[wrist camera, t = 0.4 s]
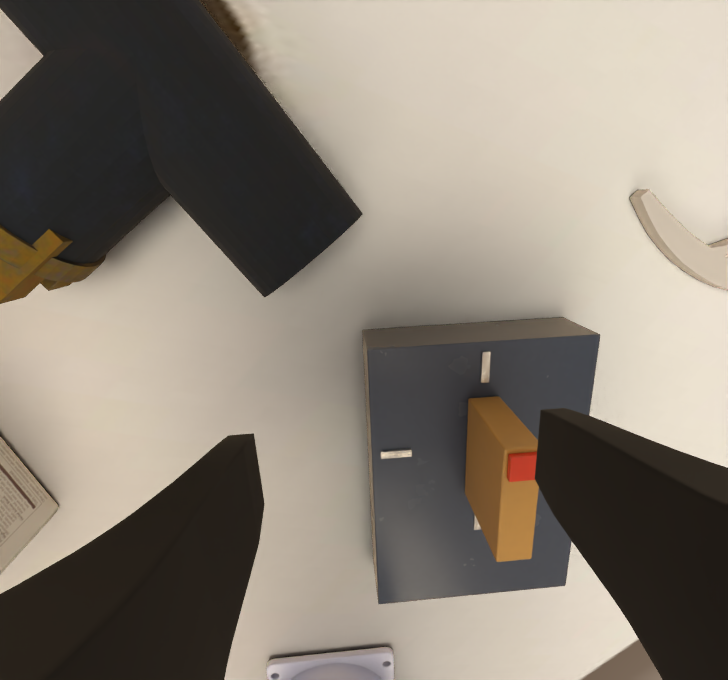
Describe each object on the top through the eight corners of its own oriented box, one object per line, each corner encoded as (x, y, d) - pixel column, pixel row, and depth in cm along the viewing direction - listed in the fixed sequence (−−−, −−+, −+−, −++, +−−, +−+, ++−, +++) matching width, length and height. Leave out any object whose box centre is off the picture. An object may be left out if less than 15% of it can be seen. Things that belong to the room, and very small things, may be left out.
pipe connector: (117, 424, 15) (-353, 26, 10) (171, 370, 20) (-130, 88, 15) (369, 212, 13) (-55, -344, 9) (357, 213, 18) (82, -143, 14)
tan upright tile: (493, 491, 19) (535, 565, 15) (464, 493, 19) (498, 568, 15) (499, 395, 18) (547, 449, 14) (467, 397, 18) (507, 452, 14)
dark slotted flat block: (538, 542, 25) (567, 588, 22) (372, 557, 24) (378, 607, 21) (563, 316, 20) (603, 335, 17) (362, 329, 20) (367, 350, 17)
